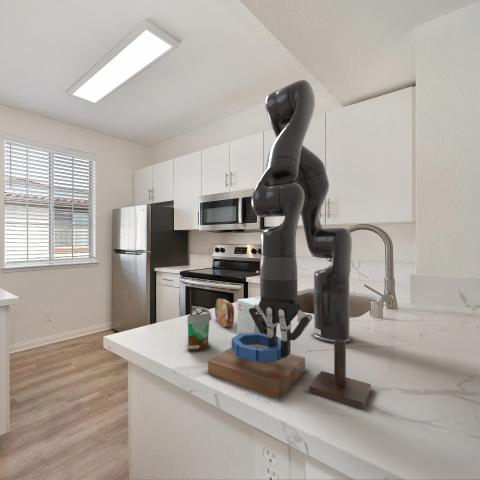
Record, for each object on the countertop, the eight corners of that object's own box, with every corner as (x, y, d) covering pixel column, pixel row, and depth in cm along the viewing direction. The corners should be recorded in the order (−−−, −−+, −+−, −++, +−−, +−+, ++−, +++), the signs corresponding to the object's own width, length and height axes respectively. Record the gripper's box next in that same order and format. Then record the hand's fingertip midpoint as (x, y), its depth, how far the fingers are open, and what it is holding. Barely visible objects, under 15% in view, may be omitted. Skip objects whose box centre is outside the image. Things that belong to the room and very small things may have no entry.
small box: (274, 350, 81) (273, 302, 80) (254, 354, 78) (254, 304, 78) (255, 341, 88) (254, 297, 88) (236, 343, 86) (236, 298, 86)
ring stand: (321, 376, 66) (321, 330, 66) (370, 389, 60) (370, 339, 60) (308, 391, 59) (308, 341, 59) (362, 409, 53) (362, 352, 53)
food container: (211, 355, 78) (210, 317, 78) (187, 353, 79) (187, 316, 79) (212, 339, 90) (212, 306, 90) (192, 337, 91) (191, 305, 91)
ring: (246, 339, 76) (246, 329, 76) (292, 350, 69) (292, 339, 68) (224, 352, 68) (223, 342, 68) (272, 366, 60) (272, 354, 60)
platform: (241, 352, 80) (241, 341, 80) (305, 370, 69) (305, 357, 69) (208, 373, 68) (207, 360, 68) (278, 398, 57) (278, 383, 57)
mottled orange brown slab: (214, 318, 113) (214, 296, 113) (222, 317, 113) (222, 295, 113) (226, 330, 98) (226, 305, 98) (235, 330, 98) (235, 304, 98)
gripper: (317, 276, 63) (318, 358, 63) (255, 272, 72) (256, 343, 72) (306, 281, 57) (307, 370, 58) (241, 275, 66) (242, 352, 67)
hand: (279, 355), depth 65 cm, fingers closed on ring, 1 cm apart
